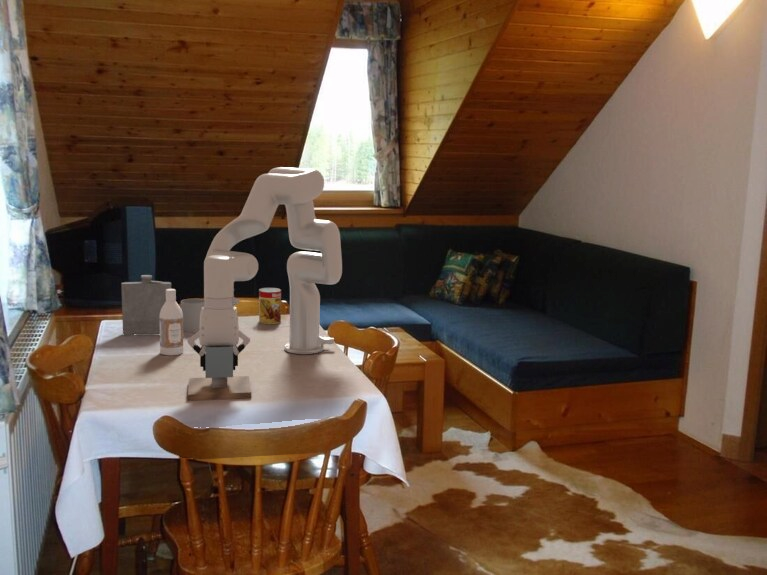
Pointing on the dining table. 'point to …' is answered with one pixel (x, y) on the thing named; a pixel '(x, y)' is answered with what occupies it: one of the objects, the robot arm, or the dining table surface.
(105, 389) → the dining table surface
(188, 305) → the cup
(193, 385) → the base
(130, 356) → the dining table surface
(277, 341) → the dining table surface
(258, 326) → the dining table surface
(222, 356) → the duct sleeve
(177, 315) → the bath foam
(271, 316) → the canned food
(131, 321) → the hip flask
